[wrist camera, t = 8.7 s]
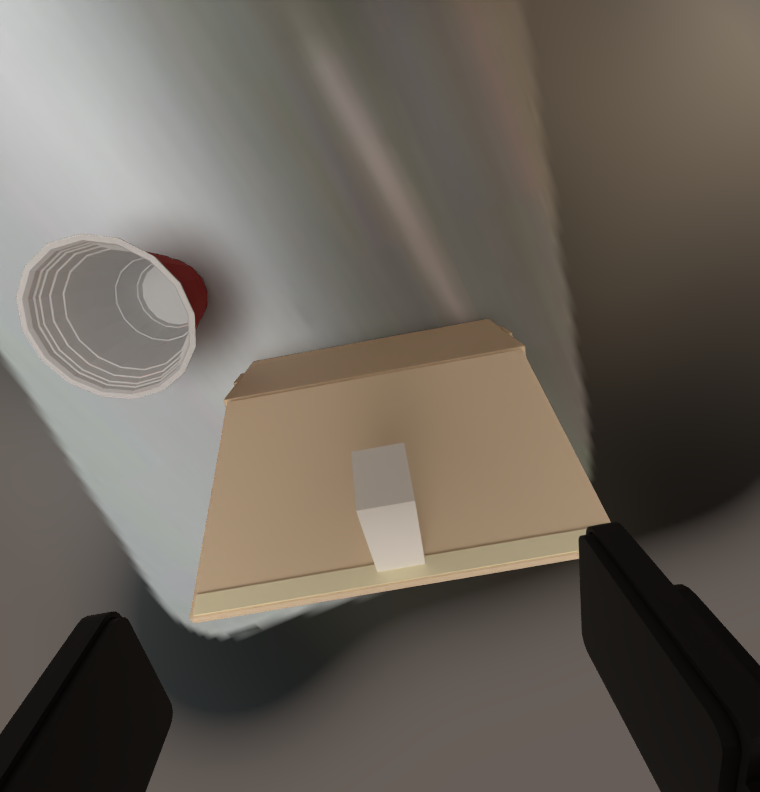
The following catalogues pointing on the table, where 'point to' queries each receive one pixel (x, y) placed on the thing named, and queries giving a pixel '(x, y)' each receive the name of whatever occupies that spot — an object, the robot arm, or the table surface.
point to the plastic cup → (111, 314)
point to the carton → (373, 358)
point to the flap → (389, 487)
